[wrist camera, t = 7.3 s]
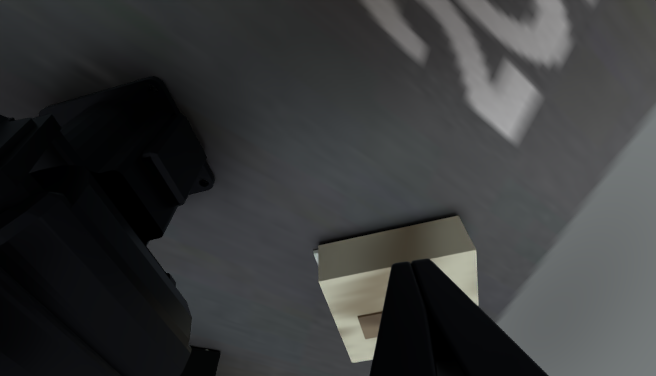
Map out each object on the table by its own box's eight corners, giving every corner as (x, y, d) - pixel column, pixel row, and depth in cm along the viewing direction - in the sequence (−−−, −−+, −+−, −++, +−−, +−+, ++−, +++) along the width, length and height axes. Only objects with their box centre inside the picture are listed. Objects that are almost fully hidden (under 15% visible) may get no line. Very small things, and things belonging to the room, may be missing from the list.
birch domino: (318, 245, 23) (349, 326, 28) (318, 283, 21) (352, 364, 26) (458, 215, 22) (464, 304, 27) (477, 251, 20) (480, 343, 25)
